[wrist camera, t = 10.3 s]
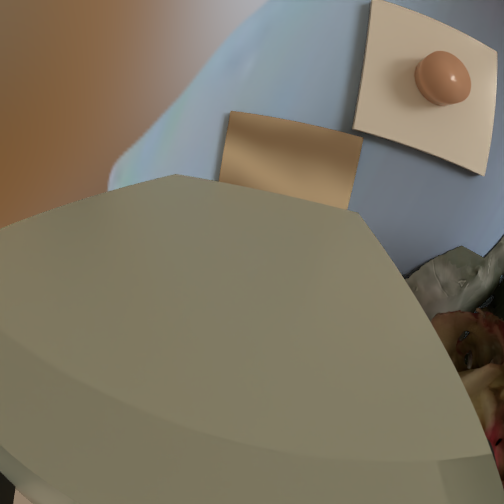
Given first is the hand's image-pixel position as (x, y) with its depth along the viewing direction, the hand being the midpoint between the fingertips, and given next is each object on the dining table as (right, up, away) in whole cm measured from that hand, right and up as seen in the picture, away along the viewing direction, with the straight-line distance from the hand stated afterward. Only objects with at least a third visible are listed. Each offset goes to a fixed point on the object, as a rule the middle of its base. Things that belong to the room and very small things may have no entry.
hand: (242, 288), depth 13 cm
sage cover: (0, 0, +1) cm, 1 cm away
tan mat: (+3, +5, +13) cm, 14 cm away
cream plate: (+16, +16, +6) cm, 23 cm away
